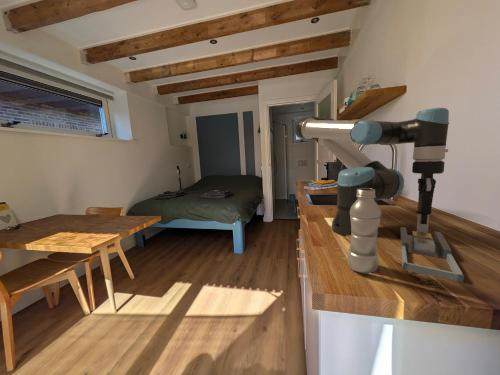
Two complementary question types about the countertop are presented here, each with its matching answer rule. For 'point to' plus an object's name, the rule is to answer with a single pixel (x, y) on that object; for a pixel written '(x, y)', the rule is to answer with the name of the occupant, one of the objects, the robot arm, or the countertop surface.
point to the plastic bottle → (364, 232)
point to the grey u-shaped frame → (454, 275)
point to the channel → (439, 241)
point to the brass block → (421, 235)
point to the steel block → (423, 245)
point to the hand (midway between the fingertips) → (422, 232)
